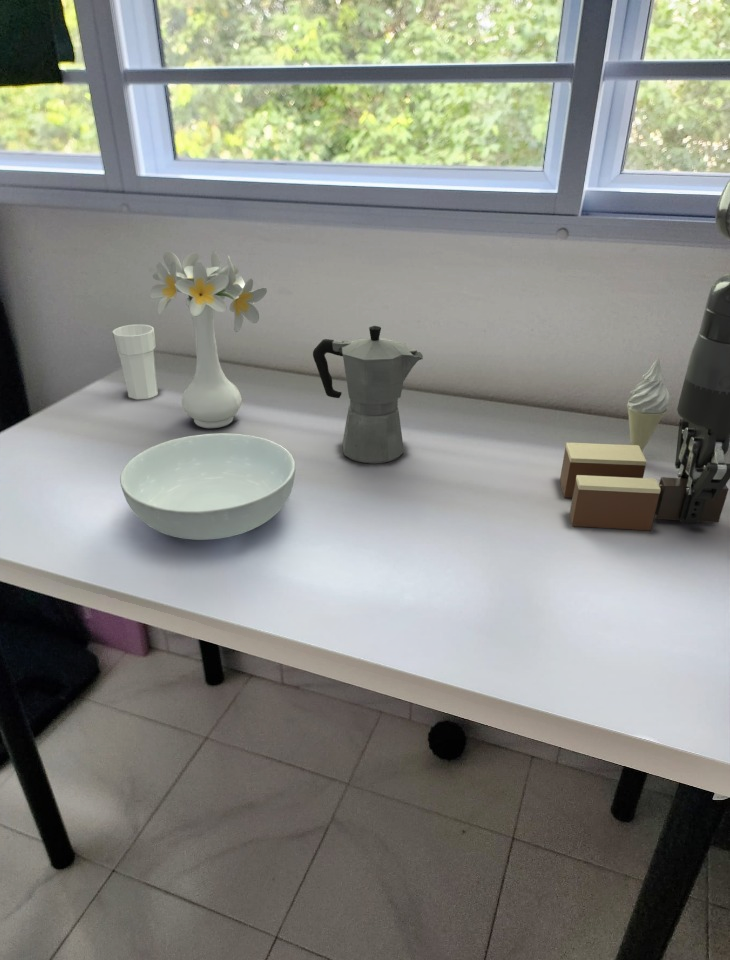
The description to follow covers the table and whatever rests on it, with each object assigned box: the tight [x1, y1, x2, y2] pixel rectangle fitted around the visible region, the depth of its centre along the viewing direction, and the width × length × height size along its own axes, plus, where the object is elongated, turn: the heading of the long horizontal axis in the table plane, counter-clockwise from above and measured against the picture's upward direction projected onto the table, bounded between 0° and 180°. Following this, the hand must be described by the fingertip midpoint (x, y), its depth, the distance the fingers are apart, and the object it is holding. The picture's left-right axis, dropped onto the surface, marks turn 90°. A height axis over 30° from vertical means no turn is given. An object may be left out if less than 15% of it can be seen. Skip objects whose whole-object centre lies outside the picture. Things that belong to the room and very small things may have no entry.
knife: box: [654, 476, 729, 523], centre depth 89 cm, size 16×2×4 cm, turn 82°
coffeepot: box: [312, 325, 424, 464], centre depth 104 cm, size 15×9×18 cm, turn 70°
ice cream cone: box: [626, 356, 670, 452], centre depth 100 cm, size 5×5×15 cm
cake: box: [559, 442, 648, 499], centre depth 95 cm, size 9×5×6 cm, turn 82°
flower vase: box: [148, 250, 268, 429], centre depth 111 cm, size 13×18×25 cm
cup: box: [111, 323, 159, 400], centre depth 126 cm, size 7×7×11 cm
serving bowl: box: [119, 432, 297, 541], centre depth 91 cm, size 21×21×7 cm
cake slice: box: [569, 475, 661, 531], centre depth 89 cm, size 9×3×6 cm, turn 82°
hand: (685, 514), depth 90 cm, fingers closed on knife, 2 cm apart
